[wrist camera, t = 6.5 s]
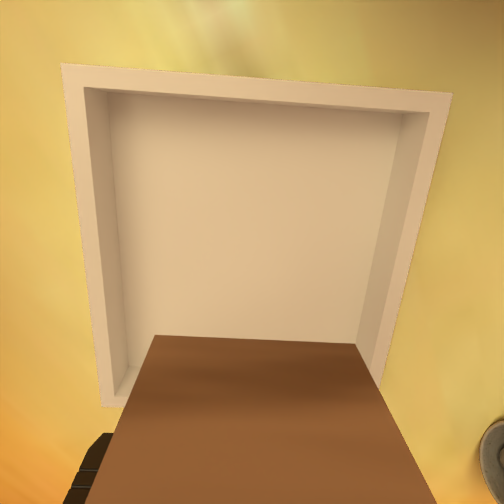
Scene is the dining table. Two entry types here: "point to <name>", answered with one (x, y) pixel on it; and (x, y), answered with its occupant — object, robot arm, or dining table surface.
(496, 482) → the grey barrel
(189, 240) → the tray
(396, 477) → the cube
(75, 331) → the dining table surface
